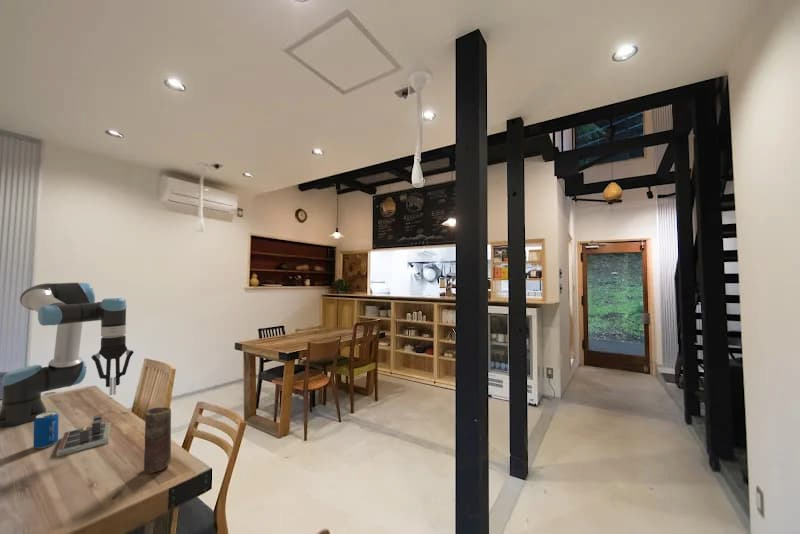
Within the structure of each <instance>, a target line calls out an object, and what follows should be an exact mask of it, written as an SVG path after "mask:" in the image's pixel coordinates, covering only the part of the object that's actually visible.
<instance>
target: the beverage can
mask: <svg viewBox="0 0 800 534" xmlns="http://www.w3.org/2000/svg"><path fill="white" fill-rule="evenodd" d="M59 416H60V415H59V414H58V411H55V410H54V411H46V413H43V414H40V415H38V416H36V419H35V420H33V448H35V449H45V448H49V447H52V446H53V445H55V444H56V443H57V442H58V441H59V419H60V418H59Z"/></svg>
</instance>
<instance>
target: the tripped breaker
mask: <svg viewBox="0 0 800 534" xmlns="http://www.w3.org/2000/svg"><path fill="white" fill-rule="evenodd" d="M90 427H91V426H87V427H83V428H80V429H81V430H80V442H84V441H88V440H89V428H90Z"/></svg>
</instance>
